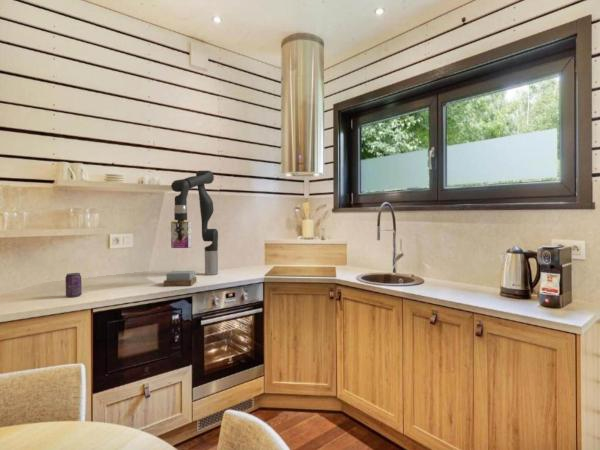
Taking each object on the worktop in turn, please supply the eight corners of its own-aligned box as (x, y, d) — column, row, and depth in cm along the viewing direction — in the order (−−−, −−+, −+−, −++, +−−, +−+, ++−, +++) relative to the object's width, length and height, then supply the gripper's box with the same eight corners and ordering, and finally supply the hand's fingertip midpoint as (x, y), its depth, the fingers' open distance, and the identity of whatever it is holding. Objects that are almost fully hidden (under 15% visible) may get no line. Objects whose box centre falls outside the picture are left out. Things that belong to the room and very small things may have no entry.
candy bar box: (170, 248, 218) (170, 221, 218) (174, 247, 223) (174, 221, 223) (188, 248, 217) (188, 221, 217) (191, 247, 222) (191, 221, 222)
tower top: (172, 277, 226) (172, 271, 226) (194, 276, 227) (194, 270, 227) (166, 280, 215) (166, 273, 215) (189, 279, 216) (189, 273, 216)
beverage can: (70, 295, 192) (70, 272, 191) (84, 294, 192) (83, 272, 192) (62, 297, 185) (62, 274, 184) (77, 297, 185) (76, 274, 185)
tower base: (171, 283, 227) (170, 277, 227) (196, 282, 228) (196, 276, 228) (163, 287, 213) (163, 281, 213) (190, 287, 214) (190, 280, 214)
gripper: (177, 212, 227) (178, 239, 227) (171, 212, 213) (171, 240, 213) (189, 212, 227) (190, 239, 228) (184, 212, 213) (184, 240, 213)
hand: (181, 239), depth 220 cm, fingers closed on candy bar box, 5 cm apart
